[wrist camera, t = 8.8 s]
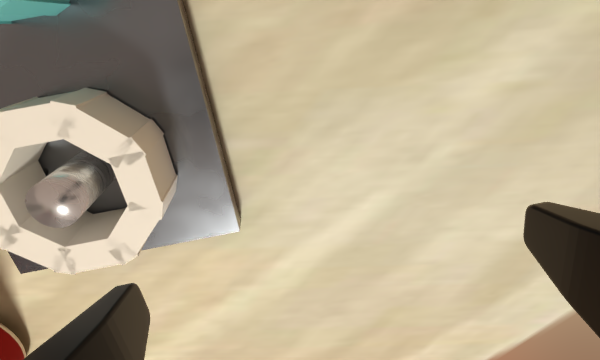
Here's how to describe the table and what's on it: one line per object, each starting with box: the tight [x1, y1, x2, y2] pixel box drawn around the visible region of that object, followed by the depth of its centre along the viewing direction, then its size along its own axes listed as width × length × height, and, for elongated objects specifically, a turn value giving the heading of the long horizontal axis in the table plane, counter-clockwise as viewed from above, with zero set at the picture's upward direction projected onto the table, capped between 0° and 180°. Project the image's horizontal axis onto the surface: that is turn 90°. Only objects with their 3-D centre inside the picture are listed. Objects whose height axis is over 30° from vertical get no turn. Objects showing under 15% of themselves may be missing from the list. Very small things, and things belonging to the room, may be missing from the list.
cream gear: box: [0, 88, 178, 275], centre depth 17 cm, size 8×8×3 cm
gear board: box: [0, 0, 241, 274], centre depth 14 cm, size 12×22×6 cm, turn 9°
